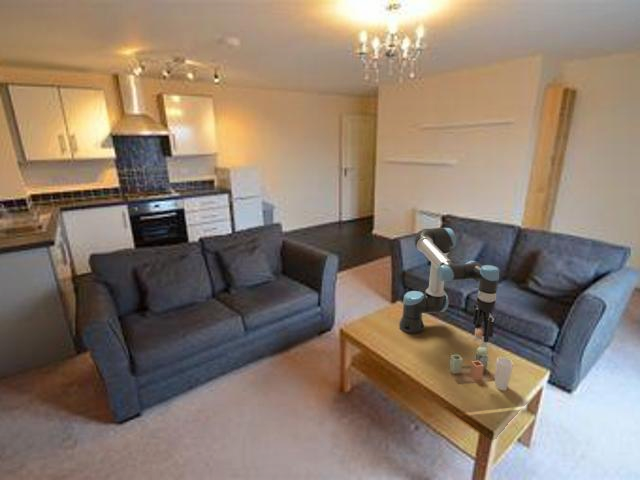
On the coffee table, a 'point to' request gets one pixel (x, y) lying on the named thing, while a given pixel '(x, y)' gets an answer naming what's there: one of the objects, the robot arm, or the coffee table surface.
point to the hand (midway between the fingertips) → (480, 343)
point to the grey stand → (482, 360)
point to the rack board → (466, 378)
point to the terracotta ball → (479, 333)
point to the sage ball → (482, 351)
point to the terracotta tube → (476, 370)
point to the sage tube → (455, 364)
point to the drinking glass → (503, 372)
